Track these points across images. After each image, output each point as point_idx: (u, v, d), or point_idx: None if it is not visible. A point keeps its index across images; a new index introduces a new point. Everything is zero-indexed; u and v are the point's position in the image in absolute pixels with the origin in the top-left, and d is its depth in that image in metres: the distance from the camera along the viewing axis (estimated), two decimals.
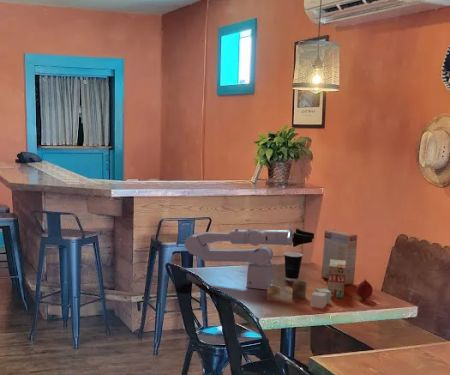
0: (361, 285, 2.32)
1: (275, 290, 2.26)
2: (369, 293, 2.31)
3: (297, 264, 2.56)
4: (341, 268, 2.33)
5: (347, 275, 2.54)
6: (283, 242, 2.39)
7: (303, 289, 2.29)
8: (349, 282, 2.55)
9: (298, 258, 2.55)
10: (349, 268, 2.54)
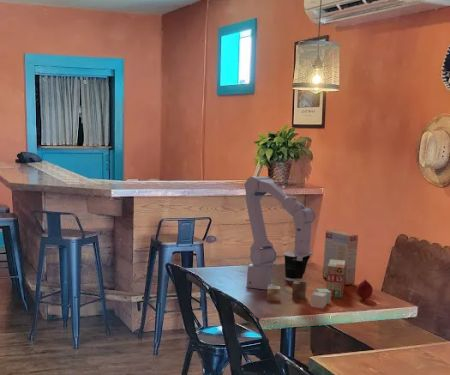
0: (361, 285, 2.32)
1: (275, 290, 2.26)
2: (369, 293, 2.31)
3: None
4: (340, 268, 2.33)
5: (348, 276, 2.54)
6: (297, 247, 2.28)
7: (303, 289, 2.29)
8: (349, 282, 2.55)
9: None
10: (349, 268, 2.54)
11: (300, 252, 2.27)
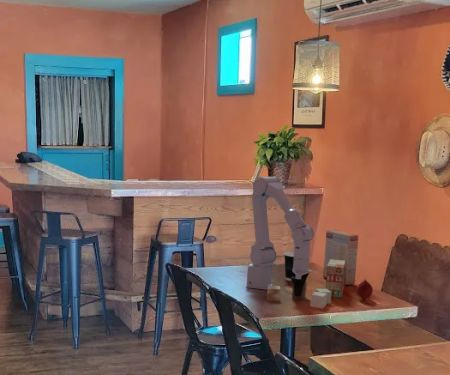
0: (361, 285, 2.32)
1: (275, 290, 2.26)
2: (369, 293, 2.31)
3: None
4: (339, 268, 2.33)
5: (348, 276, 2.53)
6: (296, 265, 2.28)
7: (303, 289, 2.29)
8: (350, 282, 2.54)
9: None
10: (350, 268, 2.54)
11: (299, 270, 2.28)
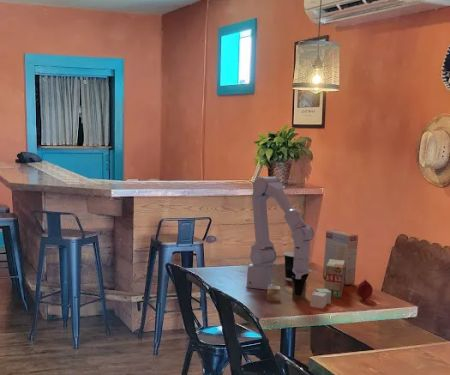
0: (361, 285, 2.32)
1: (275, 290, 2.26)
2: (369, 293, 2.31)
3: None
4: (338, 268, 2.34)
5: (347, 276, 2.53)
6: (296, 265, 2.28)
7: (303, 289, 2.29)
8: (349, 282, 2.54)
9: None
10: (349, 268, 2.54)
11: (299, 270, 2.28)
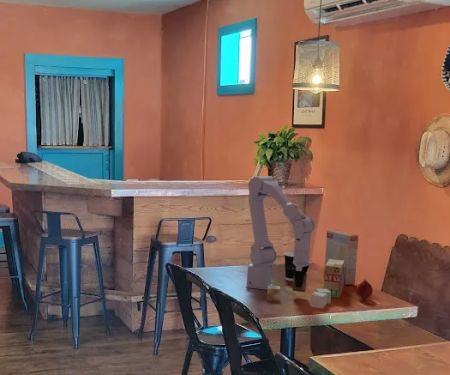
0: (361, 285, 2.32)
1: (275, 290, 2.26)
2: (369, 293, 2.31)
3: None
4: (337, 268, 2.34)
5: (348, 276, 2.53)
6: (296, 256, 2.28)
7: (304, 281, 2.28)
8: (350, 282, 2.54)
9: None
10: (349, 268, 2.53)
11: (299, 262, 2.27)
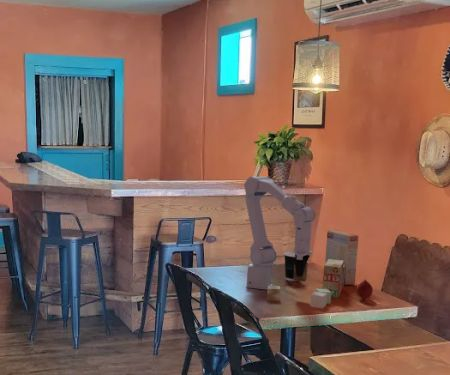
0: (361, 285, 2.32)
1: (275, 290, 2.26)
2: (369, 293, 2.31)
3: None
4: (336, 268, 2.34)
5: (347, 276, 2.53)
6: (297, 246, 2.28)
7: (305, 270, 2.28)
8: (350, 282, 2.54)
9: None
10: (349, 268, 2.53)
11: (300, 251, 2.27)
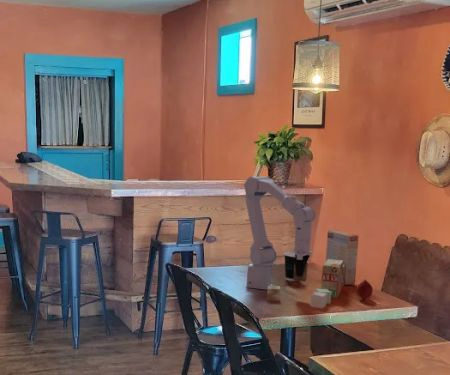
0: (361, 285, 2.32)
1: (275, 290, 2.26)
2: (369, 293, 2.31)
3: None
4: (335, 267, 2.34)
5: (347, 276, 2.53)
6: (297, 246, 2.28)
7: (305, 270, 2.28)
8: (350, 282, 2.54)
9: None
10: (349, 269, 2.53)
11: (300, 251, 2.27)
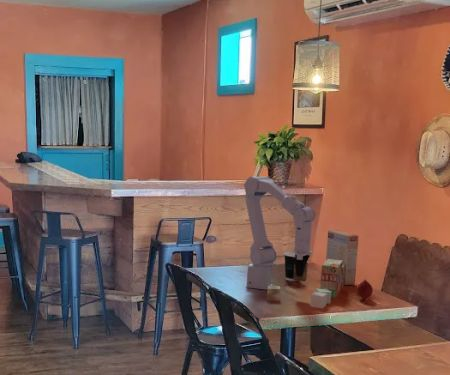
0: (361, 285, 2.32)
1: (275, 290, 2.26)
2: (369, 293, 2.31)
3: None
4: (334, 267, 2.34)
5: (347, 276, 2.53)
6: (297, 246, 2.28)
7: (305, 270, 2.28)
8: (349, 283, 2.54)
9: None
10: (349, 269, 2.53)
11: (300, 251, 2.27)
